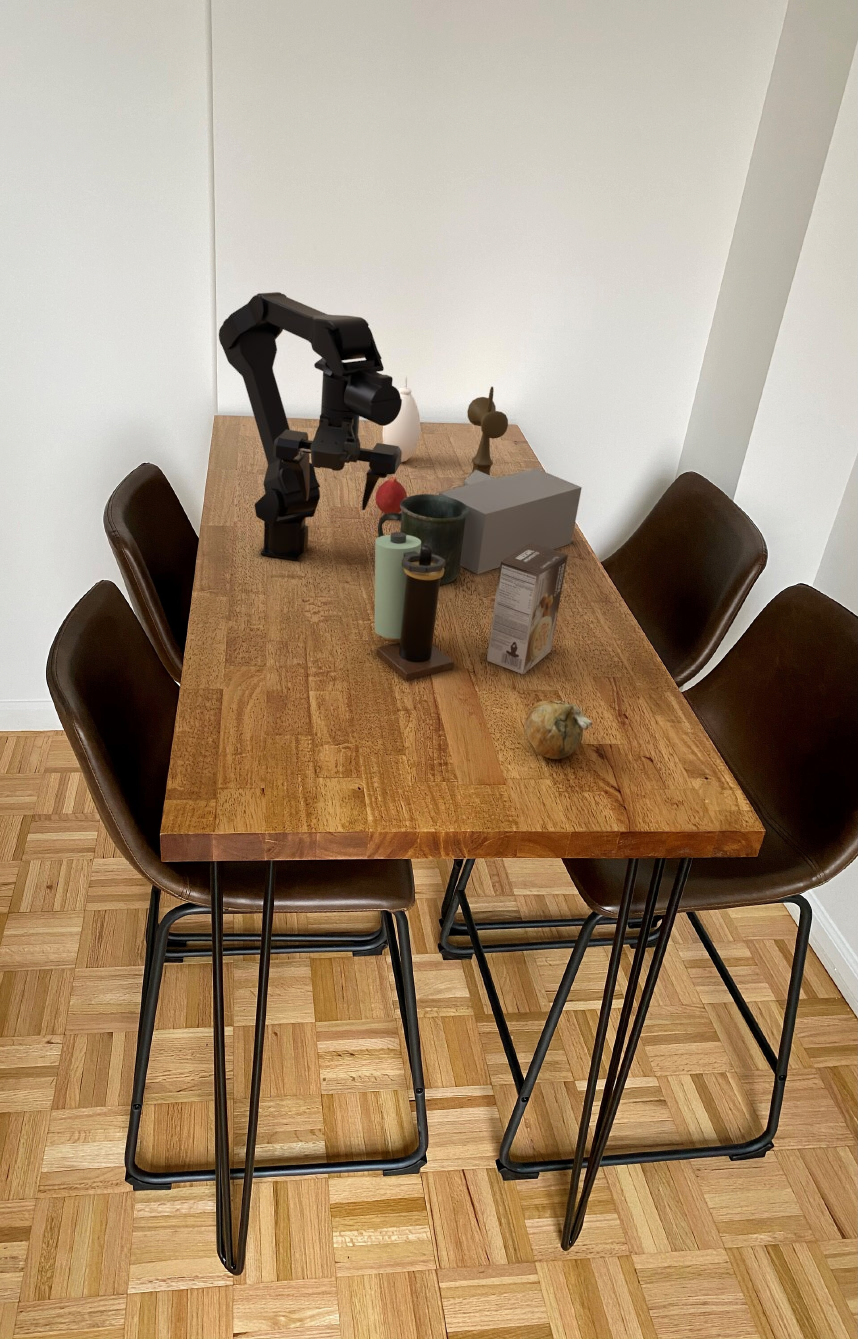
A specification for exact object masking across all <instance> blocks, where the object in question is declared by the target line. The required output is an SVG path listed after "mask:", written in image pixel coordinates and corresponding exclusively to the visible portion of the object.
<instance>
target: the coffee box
mask: <svg viewBox="0 0 858 1339" xmlns="http://www.w3.org/2000/svg"><path fill="white" fill-rule="evenodd" d="M568 557H569V554H568V553H564V552H561V551H558V550H556V549H553V550H552V549H549V548H546V547H542V546H539V545H535V544H532V543H528V544H527V545H525V546H524V547H522V548H521V549H519V550H518V551H516V552H515V553H513V554H511V555H510V556H508V557H507V558H505V559H504V560H502V561H501V562H500V567H499V572H498V578H497V586H496V592H495V598H494V606H493V613H492V619H491V620H492V621H491V625H490V626H491V628H490V635H489V640H488V648H487V655H486V661H487V662H489V663H492V664H494V665H497V666H500V667H502V668H505V669H508V670H510V671H513V672H516V673H518V674H520V675H525V674H526V673H527V672H529V671H530V670H531V669H532V668H533V667H534V666H536V664H538V663H539V662H540V661H541V660H543V659H544V658H545V657H546V656H548V654H550V653H551V652H552V647H553V641H554V636H555V630H556V624H557V619H558V614H559V613H558V612H559V608H560V602H561V597H562V591H563V585H564V580H565V573H566V569H567V563H568V562H567V561H568V559H569V558H568Z"/></svg>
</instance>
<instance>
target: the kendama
mask: <svg viewBox="0 0 858 1339" xmlns="http://www.w3.org/2000/svg"><path fill="white" fill-rule="evenodd" d="M488 392H489V393H488V397H486V396H479V397H476V398H474V399H472V401H471V402H470V403H469V404H468V408H467V411H466V412H467V419H468V421H469V423H470V424H472V425H473V426H476V427H480V430H481V437H480V441H479V444H478V447H477V448H478V449H477V451H476V454H475V456H474V457H472V458H471V462H472V469H471V472H470V474H469V475H468V476H467V478H468V477H469V476H470V475H471V474H472V473H473V472H474V471H475V470H478V471H480V472H483V473H485V474H487V475H489V476H491V467H492V466H493V464H494V462H493V460H492V458H491V443H490V442H491V440H490V439H493V440H494V439H499V438H501V437H503V436H504V435H505V434H506V432H507V430H508V427H509V419H508V416H507V414H505V413H504V412H503V411H499V410H497V408H496V404H495V401H494V386H490V389H489V391H488Z"/></svg>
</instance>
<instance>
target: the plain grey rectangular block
mask: <svg viewBox="0 0 858 1339" xmlns="http://www.w3.org/2000/svg"><path fill="white" fill-rule="evenodd" d="M470 474H471V473H470ZM470 474H469V475H470ZM469 475H468V476H469ZM468 476H467V478H466V479H465V480H464V481H463V485H461V486H457V487H454V488H449V489H446V490H442V491H438V495H441V496H446V497H450V498H453V499H456V500H459V501H460V502H462V503H464V504H465V505H466V506H467V507H468V508H469V514H468V516H467V517H466V520H465V528H464V536H463V544H462V552H461V560H460V567H462V568H465V569H466V570H468V571H470V572H472V573H473V574H476V575H480V574H483V573H485V572H489V571H493V570H495V569H499V568H500V562H501V561H502V560H504V559H505V558H507V557H508V556H510V555H511V554H513V553H515V552H516V551H518V550H519V549H521V548H522V547H524V546H525V545H527V544H528V543H532V544H535V545H539V546H542V547H546V548H549V549H552V550H557V549H558V548H562V547H564V546H568V545H571V544H572V542H573V538H574V537H573V536H574V532H575V527H576V526H575V525H576V520H577V515H578V510H579V505H580V498H581V495H582V494H581V493H582V488H583V487H582V486H579V485H577V484H575V483H572V482H570V481H568V480H565V479H563V478H560V477H558V476H556V475H554V474H551V473H549V472H546V471H543V470H542V469H539V468H537V467H534V468H530V469H526V470H521V471H517V472H513V473H509V474H506V475H502V476H498V477H494V476H492V475H490V476H489V475H487V474H485V473H483V472H480V471H478V470H475V471H474V472H473V473H472V474H471V475H470V476H469V477H468Z"/></svg>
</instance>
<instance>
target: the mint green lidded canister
mask: <svg viewBox="0 0 858 1339" xmlns="http://www.w3.org/2000/svg"><path fill="white" fill-rule="evenodd" d="M374 542H375V543H374V632H375V634H377V636H379V637H383V638H386V639H391V640H400V637H401V627H402V617H403V607H404V597H405V587H406V577H407V574H406V573H405V571H404V568H405V569H407V570H408V571H411V572H419V573H431V572H437V571H440V570H442V569H443V568H444V566H445V559H443V558H441V557H439V556H438V555H433V554H432V558H431V561H432V562H434V563H436V564H434V565H428V566H423V565H414V564H412V563H410V562H414V561H419V559H420V549H421V540H420V539H418V538H416V537H413V536H409V535H406V534H405V533H402V532H400V531H395V532H392V533H390V534H384V536H381V537H376V539H375V541H374Z"/></svg>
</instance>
